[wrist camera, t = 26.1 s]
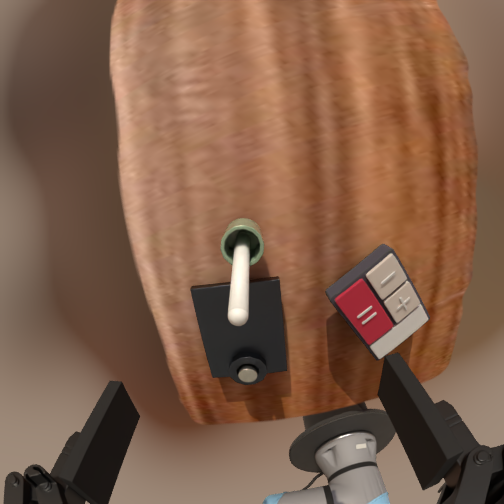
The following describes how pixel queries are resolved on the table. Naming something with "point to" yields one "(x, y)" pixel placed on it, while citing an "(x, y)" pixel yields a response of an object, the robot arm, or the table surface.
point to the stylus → (240, 281)
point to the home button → (247, 372)
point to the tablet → (242, 329)
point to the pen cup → (254, 234)
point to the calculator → (379, 302)
